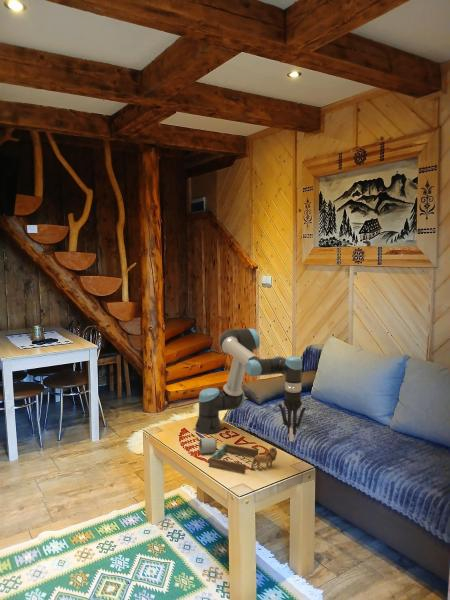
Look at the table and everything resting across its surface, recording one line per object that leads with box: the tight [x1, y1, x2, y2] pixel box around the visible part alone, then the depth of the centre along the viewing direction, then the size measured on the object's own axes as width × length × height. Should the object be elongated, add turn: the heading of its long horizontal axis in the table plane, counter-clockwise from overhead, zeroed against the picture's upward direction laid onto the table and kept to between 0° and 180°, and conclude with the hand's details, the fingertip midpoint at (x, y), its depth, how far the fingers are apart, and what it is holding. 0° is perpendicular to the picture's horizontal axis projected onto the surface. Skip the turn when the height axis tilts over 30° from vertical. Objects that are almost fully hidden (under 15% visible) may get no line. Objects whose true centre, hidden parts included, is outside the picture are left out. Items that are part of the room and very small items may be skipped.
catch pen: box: [208, 443, 259, 474], centre depth 229 cm, size 20×18×4 cm
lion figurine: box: [250, 447, 278, 472], centre depth 223 cm, size 15×5×9 cm, turn 120°
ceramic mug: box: [198, 437, 218, 454], centre depth 241 cm, size 11×8×8 cm
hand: (291, 440), depth 218 cm, fingers closed
